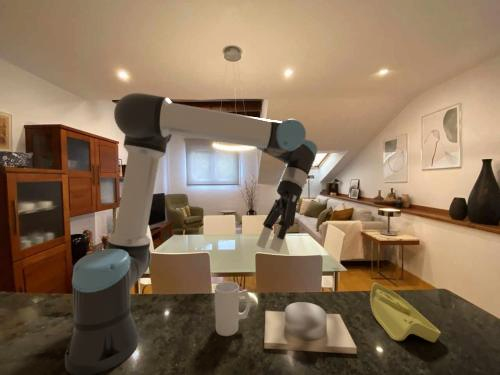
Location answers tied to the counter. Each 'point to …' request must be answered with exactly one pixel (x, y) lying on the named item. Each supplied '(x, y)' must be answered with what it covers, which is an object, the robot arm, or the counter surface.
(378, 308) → the plastic component
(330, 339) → the board with round cheese
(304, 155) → the robot arm
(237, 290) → the mug
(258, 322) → the counter surface
